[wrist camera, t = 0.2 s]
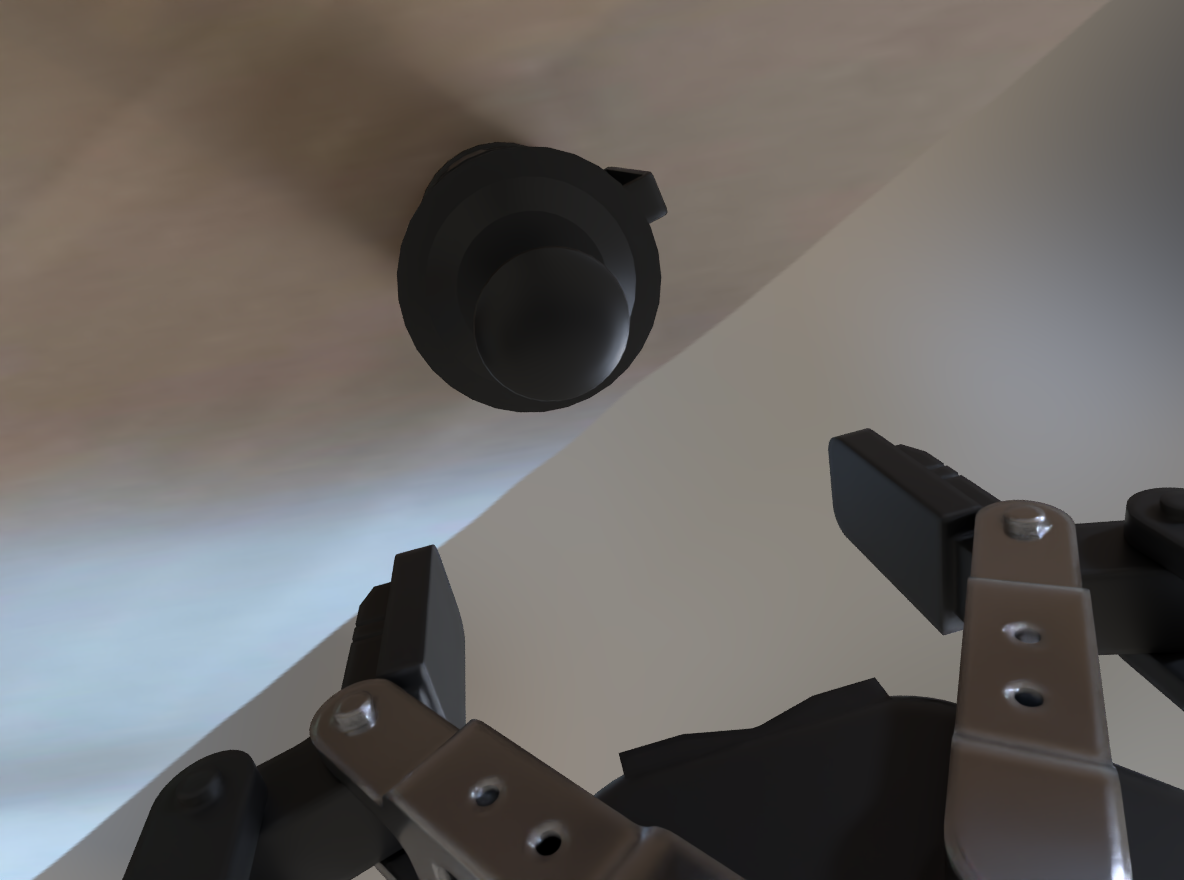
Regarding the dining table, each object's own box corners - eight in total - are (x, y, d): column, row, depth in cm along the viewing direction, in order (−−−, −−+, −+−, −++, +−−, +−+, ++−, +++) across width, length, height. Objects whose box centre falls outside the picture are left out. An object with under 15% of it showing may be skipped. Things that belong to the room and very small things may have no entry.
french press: (461, 351, 42) (463, 557, 21) (372, 199, 38) (264, 263, 17) (642, 257, 42) (826, 369, 21) (570, 94, 38) (707, 27, 17)
